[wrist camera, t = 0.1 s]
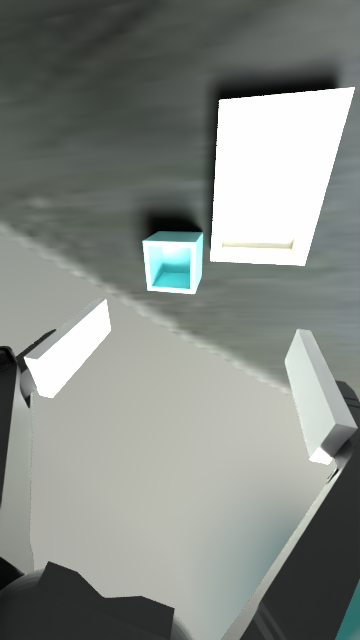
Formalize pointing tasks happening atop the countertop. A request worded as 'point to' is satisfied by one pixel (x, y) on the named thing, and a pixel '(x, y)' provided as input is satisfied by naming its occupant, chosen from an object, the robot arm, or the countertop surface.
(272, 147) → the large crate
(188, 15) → the countertop surface
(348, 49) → the countertop surface
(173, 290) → the small crate
